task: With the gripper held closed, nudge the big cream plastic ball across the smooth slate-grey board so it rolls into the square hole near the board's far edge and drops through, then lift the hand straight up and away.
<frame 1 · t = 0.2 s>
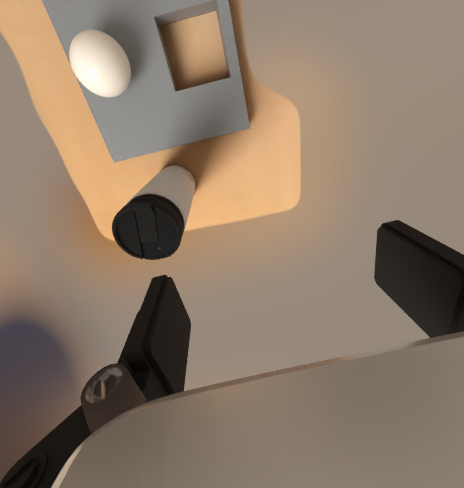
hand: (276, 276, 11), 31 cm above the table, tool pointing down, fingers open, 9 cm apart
travel mug: (176, 183, 39), on the table
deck: (159, 64, 31), on the table
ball: (101, 65, 26), point 6 cm above the table, touching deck
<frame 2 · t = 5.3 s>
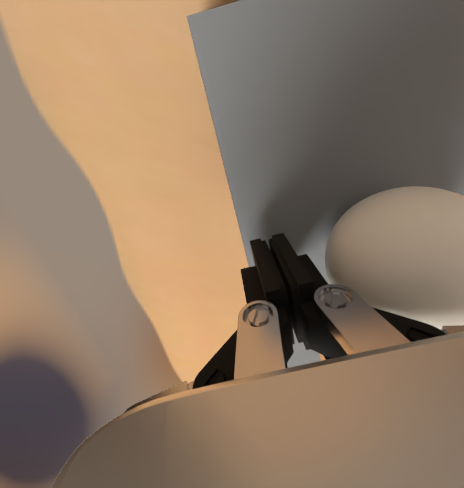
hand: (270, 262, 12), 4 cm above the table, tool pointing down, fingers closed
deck: (395, 196, 15), on the table
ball: (402, 261, 10), point 6 cm above the table, tilted 8°, touching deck
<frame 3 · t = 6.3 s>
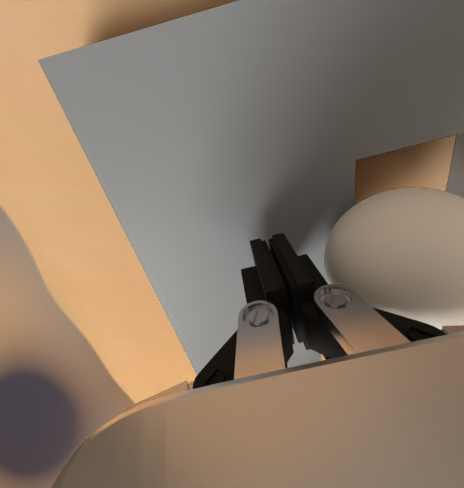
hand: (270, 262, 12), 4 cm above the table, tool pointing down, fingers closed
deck: (309, 217, 15), on the table
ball: (401, 261, 10), point 6 cm above the table, tilted 27°, touching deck
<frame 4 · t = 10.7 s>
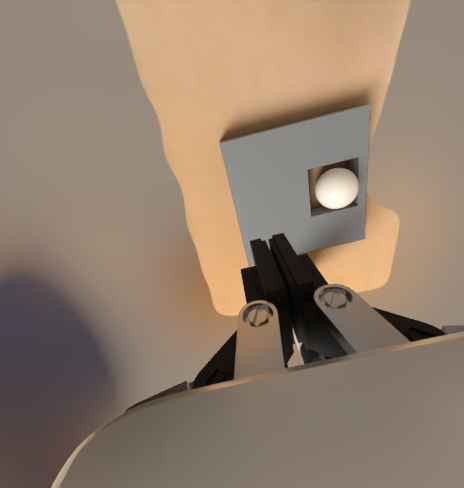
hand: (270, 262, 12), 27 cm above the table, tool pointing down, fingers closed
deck: (294, 191, 38), on the table
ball: (336, 188, 35), point 3 cm above the table, tilted 113°
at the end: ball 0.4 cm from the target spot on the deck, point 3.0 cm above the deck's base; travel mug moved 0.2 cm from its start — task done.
